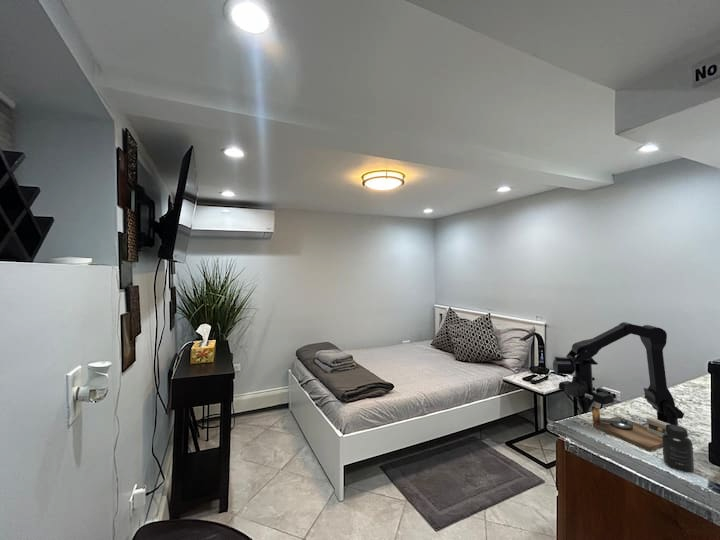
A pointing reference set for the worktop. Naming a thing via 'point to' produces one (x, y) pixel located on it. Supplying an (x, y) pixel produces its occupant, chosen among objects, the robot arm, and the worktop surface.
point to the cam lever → (613, 421)
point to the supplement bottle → (677, 448)
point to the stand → (638, 433)
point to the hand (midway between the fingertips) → (585, 412)
